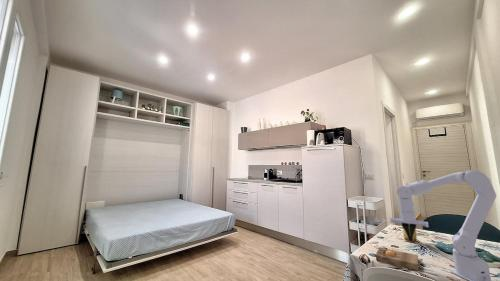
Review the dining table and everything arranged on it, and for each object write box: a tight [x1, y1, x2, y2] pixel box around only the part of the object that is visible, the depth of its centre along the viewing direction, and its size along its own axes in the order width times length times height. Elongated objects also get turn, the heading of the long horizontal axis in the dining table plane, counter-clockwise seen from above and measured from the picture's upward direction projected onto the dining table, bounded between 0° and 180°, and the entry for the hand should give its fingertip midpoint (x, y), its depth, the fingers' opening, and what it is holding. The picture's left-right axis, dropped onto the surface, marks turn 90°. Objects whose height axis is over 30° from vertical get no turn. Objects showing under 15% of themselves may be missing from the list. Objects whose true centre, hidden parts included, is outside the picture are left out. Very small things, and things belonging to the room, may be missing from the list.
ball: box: [385, 249, 395, 256], centre depth 100 cm, size 4×4×4 cm
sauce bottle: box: [402, 227, 417, 243], centre depth 125 cm, size 7×6×20 cm
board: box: [375, 247, 419, 271], centre depth 99 cm, size 16×12×2 cm
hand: (410, 240), depth 96 cm, fingers closed
